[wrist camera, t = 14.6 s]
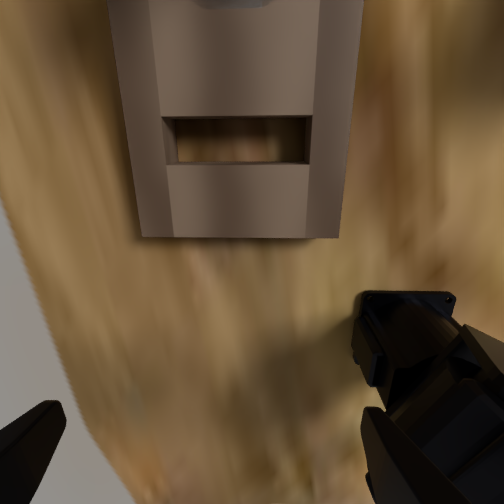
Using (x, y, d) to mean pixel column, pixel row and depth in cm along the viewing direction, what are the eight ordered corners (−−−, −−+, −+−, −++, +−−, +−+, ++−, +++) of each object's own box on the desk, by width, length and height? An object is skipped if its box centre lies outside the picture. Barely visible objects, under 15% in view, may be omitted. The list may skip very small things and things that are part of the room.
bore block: (379, -295, 12) (406, -401, 10) (329, 226, 20) (338, 238, 18) (91, -276, 12) (50, -371, 10) (156, 225, 20) (142, 236, 18)
